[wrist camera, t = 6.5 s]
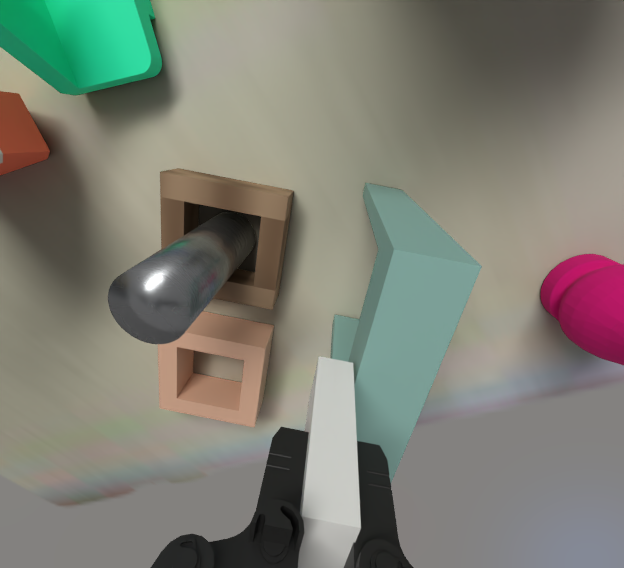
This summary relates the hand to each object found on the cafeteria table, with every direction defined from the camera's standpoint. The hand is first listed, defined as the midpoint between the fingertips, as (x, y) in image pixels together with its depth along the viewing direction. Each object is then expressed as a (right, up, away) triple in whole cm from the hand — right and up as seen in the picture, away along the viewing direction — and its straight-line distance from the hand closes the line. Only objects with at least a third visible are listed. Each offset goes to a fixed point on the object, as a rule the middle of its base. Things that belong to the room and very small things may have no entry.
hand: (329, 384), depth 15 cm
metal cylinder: (-8, +9, +16) cm, 20 cm away
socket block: (-8, +9, +16) cm, 20 cm away
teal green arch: (+4, +6, +15) cm, 17 cm away
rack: (-10, -3, +21) cm, 24 cm away
